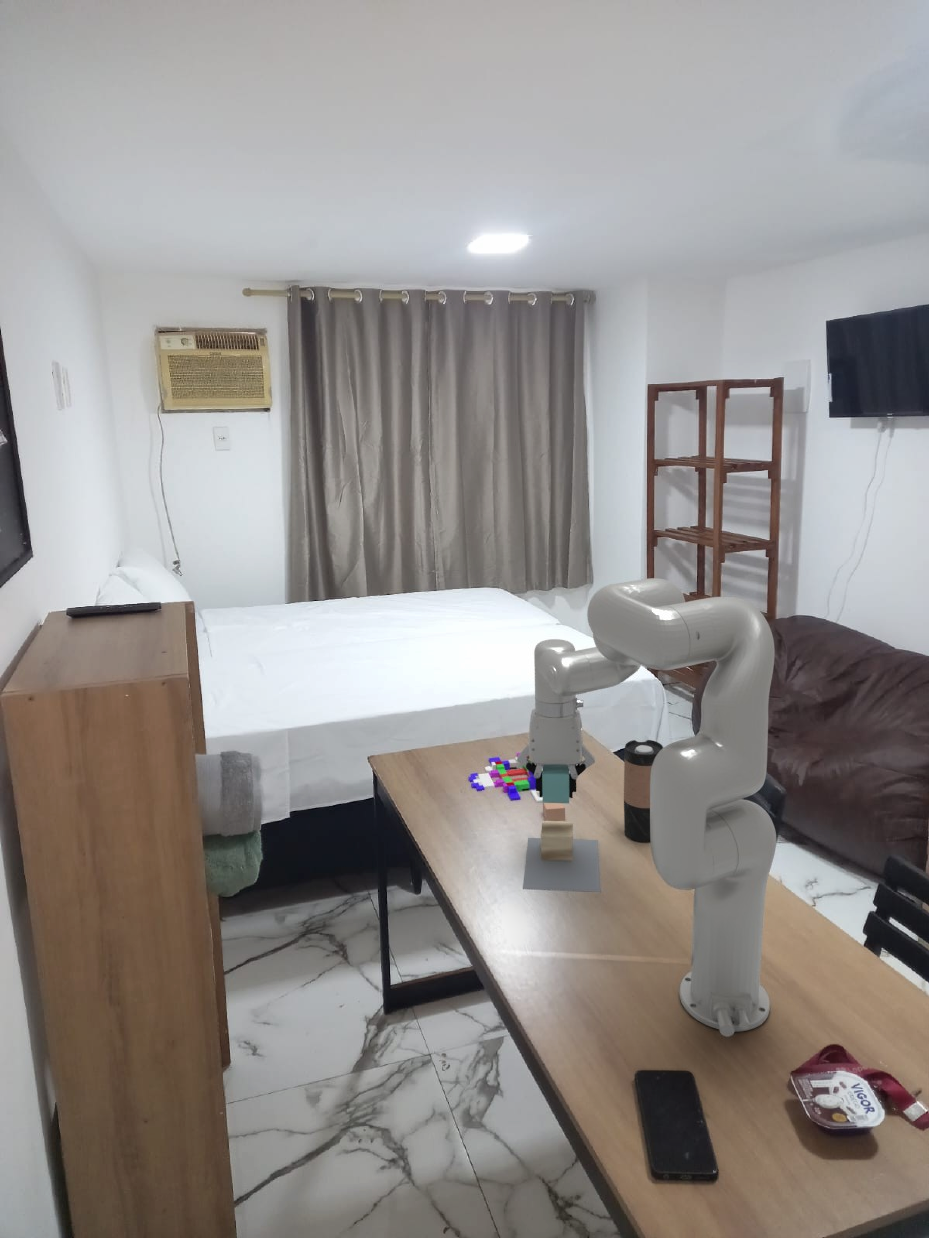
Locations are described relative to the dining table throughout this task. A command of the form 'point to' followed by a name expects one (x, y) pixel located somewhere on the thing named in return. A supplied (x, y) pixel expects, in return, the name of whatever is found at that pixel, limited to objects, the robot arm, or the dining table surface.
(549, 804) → the terracotta block
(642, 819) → the travel mug
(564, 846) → the beech block
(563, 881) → the build board
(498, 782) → the building block set
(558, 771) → the teal block
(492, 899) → the dining table surface
